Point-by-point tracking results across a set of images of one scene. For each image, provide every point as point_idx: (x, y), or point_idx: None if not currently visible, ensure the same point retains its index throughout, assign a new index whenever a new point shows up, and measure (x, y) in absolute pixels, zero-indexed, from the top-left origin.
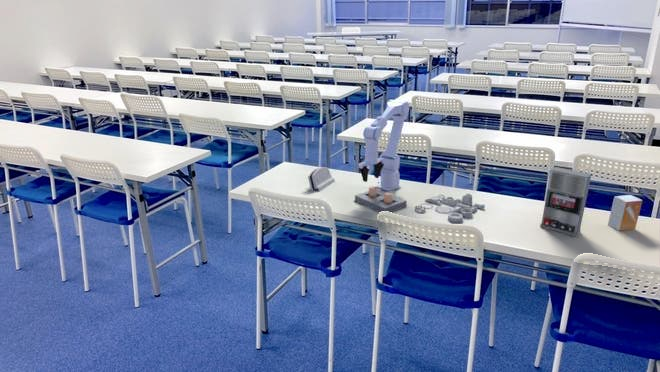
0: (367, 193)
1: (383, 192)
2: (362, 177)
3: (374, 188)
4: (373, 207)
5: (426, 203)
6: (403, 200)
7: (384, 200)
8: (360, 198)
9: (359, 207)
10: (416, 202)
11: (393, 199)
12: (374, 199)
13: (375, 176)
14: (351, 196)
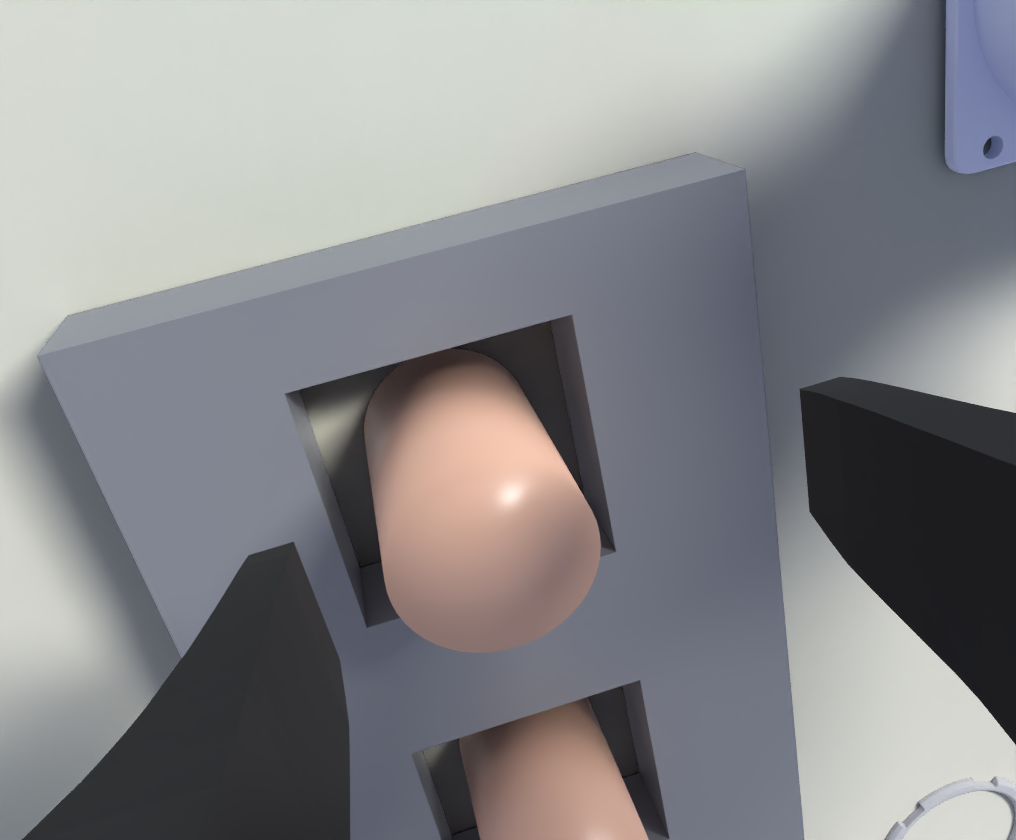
0: (393, 363)
1: (728, 441)
2: (209, 627)
3: (508, 600)
4: None
5: (1009, 793)
6: (770, 828)
7: (479, 833)
8: (122, 521)
9: (32, 654)
10: (949, 722)
11: (668, 765)
12: (366, 686)
13: (821, 441)
14: (69, 59)
